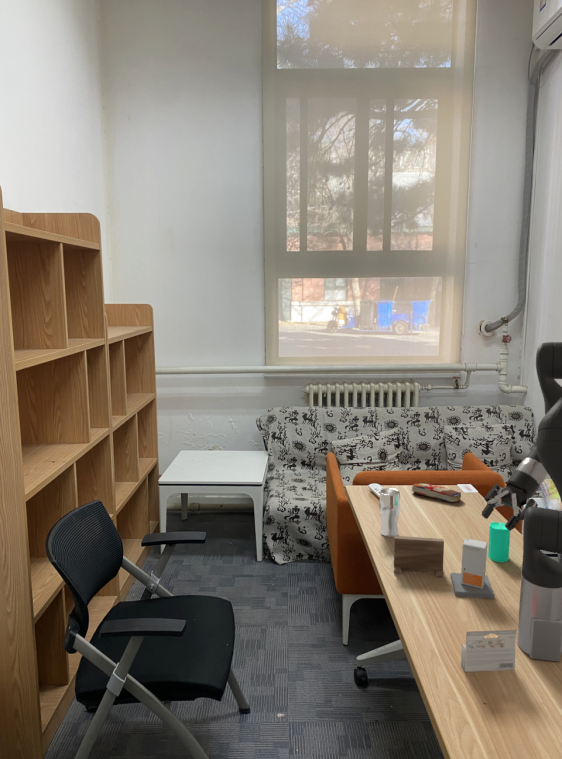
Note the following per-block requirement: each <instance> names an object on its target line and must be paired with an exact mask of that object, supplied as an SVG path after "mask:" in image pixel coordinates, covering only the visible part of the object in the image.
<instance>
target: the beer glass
mask: <svg viewBox="0 0 562 759" xmlns="http://www.w3.org/2000/svg"><path fill="white" fill-rule="evenodd" d="M379 492H380V493H379V513H380V518H381V525H380V526H381V527H380V531H379V532H380V535H382V536H383V535H384V536H383V537H386V536H388V537H387V538H394V537H393V536H399V529H398V520H399V515H400V511H401V494H400V493H401V492H400V490H398V489H396V488H389V487H388V488H387V487H386V488H381V489H380V491H379Z"/></svg>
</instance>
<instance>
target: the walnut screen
mask: <svg viewBox="0 0 562 759" xmlns="http://www.w3.org/2000/svg"><path fill="white" fill-rule="evenodd" d="M393 538H394V540H393V541H394V545H393V552H394V553H393V573H394V574H395V575H402V571H405V572H417V573H429V574H435V576H436V578H445V573H444V572H445V571H444V556H445V555H444V554H445V553H444V552H445V551H444V550H445V547H444V546H445V540H444V538H433V537H432V538H431V537H428V538H427V537H418V536H406V535H405V536H403V535H401V536H400V535H397V536H395V537H393Z"/></svg>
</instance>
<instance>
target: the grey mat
mask: <svg viewBox="0 0 562 759" xmlns="http://www.w3.org/2000/svg"><path fill="white" fill-rule="evenodd" d="M450 579H451V580H450V581H451V585H452V588H453V591H454V596H456V597H457V596H458V597H466V598H467V597H469V598H481V599H491V600H494V599H495V593H494V590H493V586H492V585H491V581H490V579H489V576H488V575H486V574H485V583H484V587H483V589H481V588H477V587H473V586H469V585H465V584H461V573H459V572H450Z"/></svg>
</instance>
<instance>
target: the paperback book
mask: <svg viewBox="0 0 562 759" xmlns="http://www.w3.org/2000/svg"><path fill="white" fill-rule="evenodd" d="M411 491H412V492H414V493H416V494H419V495H421V496H425V497H428V496H429V497H428V498H432V497H433V499H437V500H442V501H447V502H451V503H452V502H454V503H457V502H459V501H461V498H462V492H460V491H456V490H454V489H451V488H448V487H443V486H440V485H436V484H430V483H420V482H419V483H418V482H417V483H413V484H412V485H411Z"/></svg>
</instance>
